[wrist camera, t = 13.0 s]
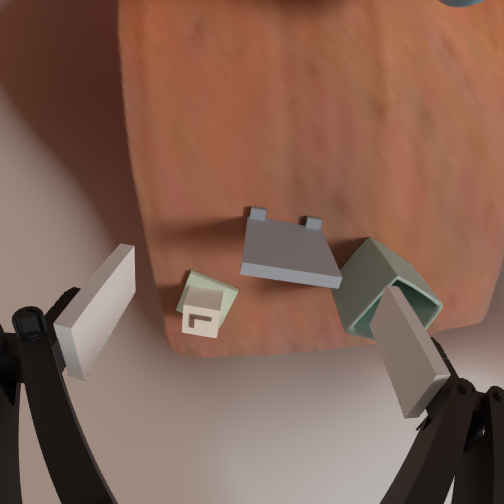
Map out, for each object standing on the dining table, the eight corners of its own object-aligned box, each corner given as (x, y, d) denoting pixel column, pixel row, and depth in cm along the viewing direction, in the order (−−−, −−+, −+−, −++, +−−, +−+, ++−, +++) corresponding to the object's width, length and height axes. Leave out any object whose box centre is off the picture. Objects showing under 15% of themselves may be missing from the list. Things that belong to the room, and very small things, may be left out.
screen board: (244, 234, 52) (238, 286, 38) (249, 205, 50) (244, 248, 35) (315, 246, 52) (334, 300, 38) (323, 218, 50) (346, 265, 36)
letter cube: (190, 285, 55) (183, 305, 50) (223, 290, 56) (219, 311, 50) (188, 311, 58) (182, 333, 52) (220, 317, 58) (216, 338, 53)
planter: (410, 227, 50) (468, 286, 33) (411, 266, 54) (460, 332, 36) (323, 246, 52) (351, 317, 35) (328, 285, 56) (353, 363, 38)
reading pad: (191, 270, 55) (190, 272, 54) (238, 288, 56) (238, 292, 56) (176, 307, 59) (175, 310, 58) (220, 324, 60) (219, 327, 59)
